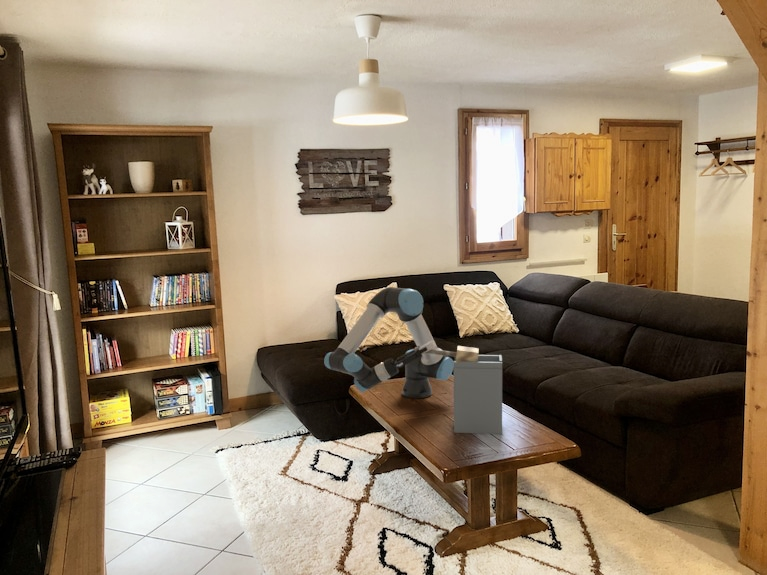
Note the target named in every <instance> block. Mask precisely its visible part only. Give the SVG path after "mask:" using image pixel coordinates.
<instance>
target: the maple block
mask: <svg viewBox="0 0 767 575" xmlns="http://www.w3.org/2000/svg"><path fill="white" fill-rule="evenodd" d="M456 348H457V349H456V351H449V350H443V349H442V350H435V349H431V350H429V351H427V352H426V353H429V354H437V355H445V356H446V357H453V358H455V357H456V361H475V362H478V355H480V354H479V347H472V346H471V347H469V346H462V345H457V347H456ZM414 349H415V351H417V350H419V347H417V346H415V347H414Z"/></svg>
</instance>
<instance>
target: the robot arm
mask: <svg viewBox="0 0 767 575" xmlns="http://www.w3.org/2000/svg"><path fill="white" fill-rule="evenodd" d="M423 309H424V297H423V296H422V295H421V292H419V291H418V290H416V289H412V288H403V287H402V288H401V287H394V286H389V287H384V288H383V289H382V290H380V291H378V292H377V293H376V294H374V296H373V297H371V299H370V300H369V301H368V302H367V304H366V309H365V310H364V312H363V313H362V314H361V316H360V317H359V318H358V320H357V321H356V322H355V324H354V325H353V326H352V328H351V329H350V330H349V332H348V333H347V335H346V336H344V338H343V340H342V342H340V344H339V345H338V346H337V348H336V349H335V350H334V351H331V352H328V353H326V355H325V356H324V361H323V362H324V366H325V367H326V368H327V369H329V370H332V371H337V372H341V373H343V374H348V375H350V376H352V377H354V378H353V383H354V385H355V387H356V388H357V390H358V391H359V392H360V393H364V392H366V391H369V390H371V389H372V388H374V387H375V386H377V385H379V384H381V383H384V381H385V382H388V380H389V379H390V378H391V377H394V376H396V375H397V374H399V372H400V369H402V368H403V367H404V370H405V371H404V372H405V374H404V376H405V378H404V379H405V380H404V384H403V386H402V389H401V392H402V396H404V397H407V398H411V399H421V398H427V397H430V396H432V394H433V388H432V386H431V383H430V380H429V378H430V379H435V380H438V381H447V380H448V379H449V378H450V377H451V375H452V373H453V372H454V360H453V359H452V358H451V357H450V356H445V355H437V354H429V353H426V352H427V351H429V350H431V349H435V350H443V349H442V348H440V347H438V346H437V344H436V341H435V339H434V338H433V336H432V333H431V331H430V329H429V327H428V325H427V323H426V321H425V319H424V317H423V315H422V313H423ZM388 313H394V314H396V315H397V317H398V319H399V320H400V321H401V322H403V323H405V325H406V327H407V329H408V331H409V333H410V335H411V337H412V339H413V341H414V343H415V345H416V347H419V350H417V351H415V348H412V349H409V350H407V351H406V352H405V354H401V355H400V356H399V357H397V358H396V359H395V360H394V359H393V358H392V357H389V358H387V359H386V360H384V361H383V362H380V363H379V364H376V365H375V366H373V367H370V366H368V365H367V364H366V362H364V361H363V359H362V358H361V357H360V355H358V354H356V353H355V352H357V350H358V349H359V347H360V346H361V345H362V343H363V342H364V340H365V339H366V338H367V336H369V334H370V333H371V331H372V329H373V328H374V327H375V326H376V325H377V322H378V321H379V320H380V319H382V318H384V317H385V315H386V314H388ZM399 368H400V369H399Z"/></svg>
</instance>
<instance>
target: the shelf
mask: <svg viewBox="0 0 767 575" xmlns="http://www.w3.org/2000/svg"><path fill="white" fill-rule="evenodd" d="M453 364H454V367H453V434H454V433H458V434H460V433H461V434H483V435H486V434H487V435H503V356H502V354H478V362H475V361H456V357H454V360H453Z"/></svg>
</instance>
